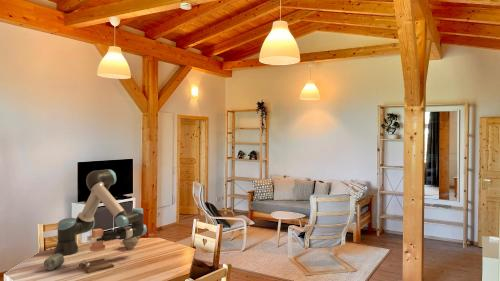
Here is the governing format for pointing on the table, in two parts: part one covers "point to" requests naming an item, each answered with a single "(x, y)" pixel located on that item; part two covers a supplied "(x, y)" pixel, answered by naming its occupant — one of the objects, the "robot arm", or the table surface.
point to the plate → (97, 265)
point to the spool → (53, 261)
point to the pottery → (130, 242)
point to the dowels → (85, 264)
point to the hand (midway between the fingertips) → (89, 239)
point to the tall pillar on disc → (97, 245)
